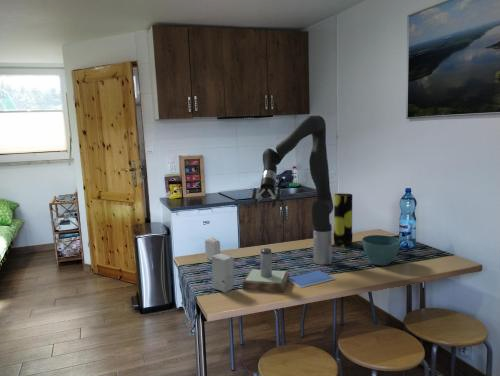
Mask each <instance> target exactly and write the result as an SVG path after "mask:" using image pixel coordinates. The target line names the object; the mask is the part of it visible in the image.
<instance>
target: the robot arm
mask: <svg viewBox="0 0 500 376" xmlns="http://www.w3.org/2000/svg"><path fill="white" fill-rule="evenodd" d="M326 125H327V123H326V121H325V119H324V117H323V116H322V115H308V116H307V117H305V118H304V119H303V120H302V121H301V122H300V123H299V125H298V126H297V127H296V128H295V129H294V130H293V131H292V132H291V133H290V134H289V135H288V136H286V137H285V138H284V139H282V140H281V141H280V142H279V143H278V144H276V146H275V150H276V151H275V150H274V149H272V148H266V149H265V150H264V151H263V153H262V163H263V164H262V165H263V170H262V171H263V172H262V176H261V181H260V187H259V189H256V188H253V191H252V195H251V198H252V200H253V201H254V206H255V208H258V205H259V201H260V200H262V199H263V198H264V199H270V198H271V199H272V205H271V207H272V208H275V207H276V206H277V205H276V204H277V202H280V201H281V194H282V193H281V189H280V188H277V189H276V182H277V173H278V172H277V171H278V168H277V166H278V165H280V163H281V162H282V160H283V159H284V158H285V157H286V155H287V154H289V153H290V152H292V150H294V149H295V148H296V147H297V145H298V144H299V142H301V141H302V140H303V139H304V138H306V137H308V136H310V135H311V136H312V149H311V152H310V156H309V160H308V161H309V162H308V164H309V172H310V176H311V179H312V181H313V184H314V187H315V190H316V192H315V193H316V200H315V201H314V202H313V203H312V206H311V224H312V227H313V228H312V229H313V233H312V234H313V236H312V240H313V242H312V243H313V247H312V249H313V250H312V251H313V258H312V260H313V263H314V264H316V265H320V266H321V265H323V266H325V265H332V261H333V260H332V259H333V257H332V256H333V252H332V251H333V247H332V245H333V243H332V240H333V239H332V237H333V236H332V231H333V230H332V229H333V227H332V226H333V225H332V224H331V221H330V219H331V218H330V214H331V213H332V212H333V210H334V200H333V198H332V193H331V186H330V185H331V184H330V173H329V171H330V170H329V162H328V152H327V151H328V150H327V141H326V139H327V137H326V136H327V135H326V134H327V128H326V127H327V126H326ZM274 194H276V195H277V196H275V195H274Z"/></svg>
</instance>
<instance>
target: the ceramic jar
mask: <svg viewBox="0 0 500 376" xmlns="http://www.w3.org/2000/svg"><path fill="white" fill-rule="evenodd" d="M272 253H273V252H272V249H271V248H265V247H264V248H261V249H260V254H259V255H260V270H261V276H262V277H265V278H268V277H271V276H272V270H273V264H272V263H273V261H272V260H273V257H272Z"/></svg>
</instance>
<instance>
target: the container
mask: <svg viewBox="0 0 500 376" xmlns="http://www.w3.org/2000/svg"><path fill="white" fill-rule="evenodd" d="M333 198H334V200H333V210H334V211H333V214H334V215H333V218H334V219H333V222H334V223H333V245H334V246H336V247H338V248H339V247H340V248H349V247H351V246H352V245H353V194H352V193H347V192H346V193H344V192H342V193H341V192H339V193H334V195H333Z"/></svg>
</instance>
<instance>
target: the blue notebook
mask: <svg viewBox="0 0 500 376" xmlns="http://www.w3.org/2000/svg"><path fill="white" fill-rule="evenodd" d="M335 279H336V278H335V277H334V276H332V275H329V274H327V273H325V272H323V271H321V270H315V271H311V272H308V273H307V272H306V273H303V274H297V275H294V276H290V277H289V278H288V282H289V283H292V285H294V286H297V287H298V288H300V289H302V288H306V287H310V286H314V285H317V284H319V285H320V284H322V283H326V282H330V281H334V280H335Z"/></svg>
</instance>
